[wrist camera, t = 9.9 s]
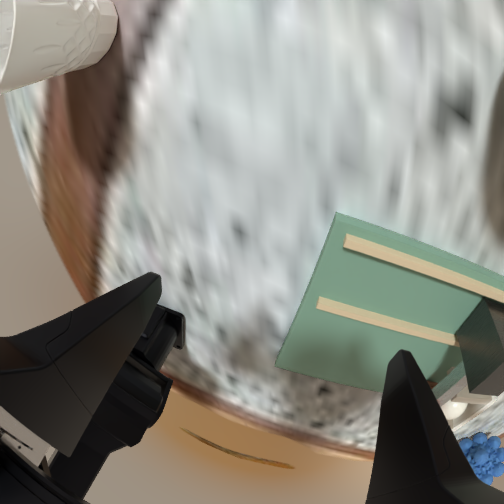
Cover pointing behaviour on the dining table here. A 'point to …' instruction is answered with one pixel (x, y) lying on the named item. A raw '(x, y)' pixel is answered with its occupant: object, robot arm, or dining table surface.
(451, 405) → the ball
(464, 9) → the dining table surface
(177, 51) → the dining table surface
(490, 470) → the grapes
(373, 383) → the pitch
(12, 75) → the white cup
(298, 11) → the dining table surface
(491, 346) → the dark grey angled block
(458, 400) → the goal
